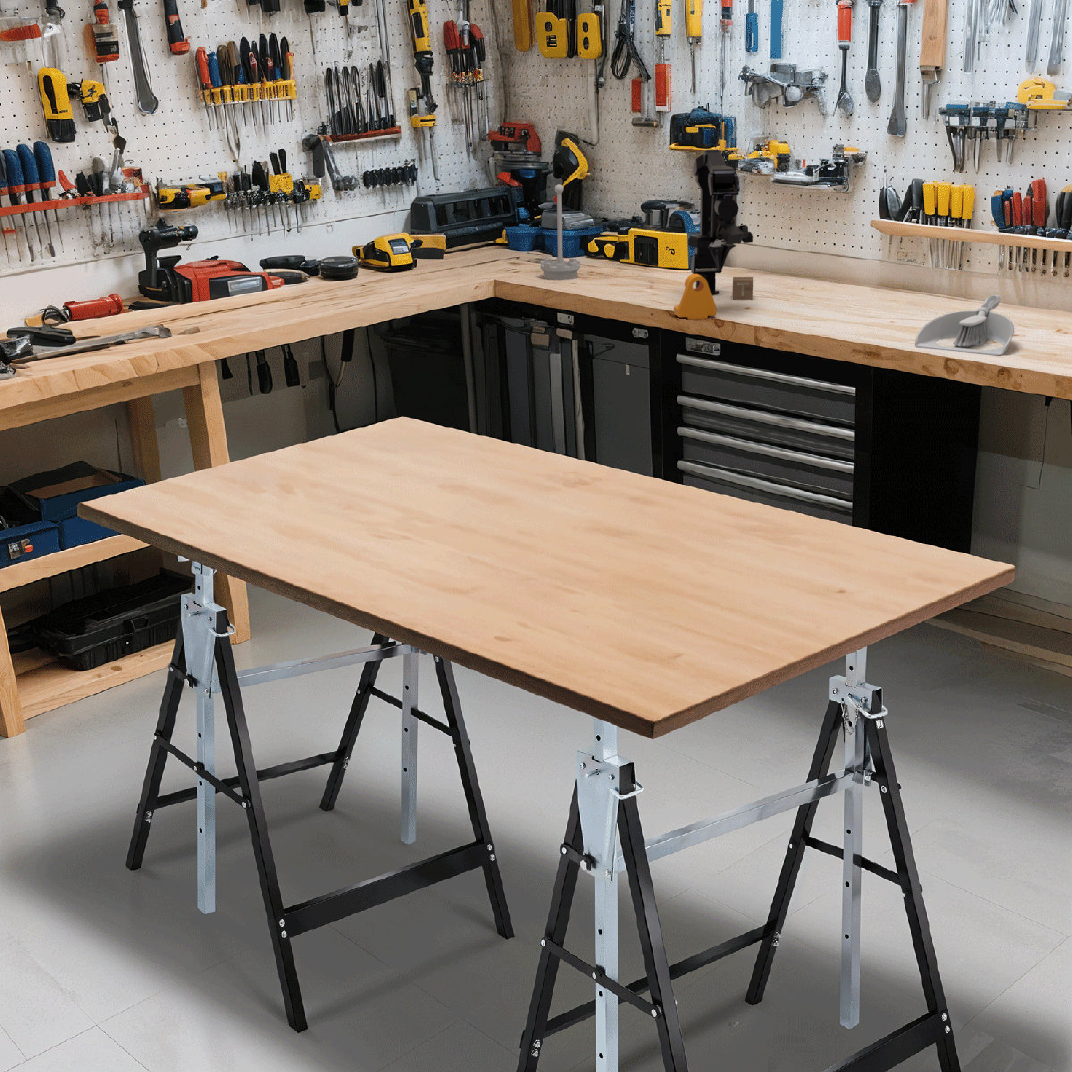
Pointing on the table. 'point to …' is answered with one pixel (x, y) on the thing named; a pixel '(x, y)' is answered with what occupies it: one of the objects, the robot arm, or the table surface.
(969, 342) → the dustpan and brush
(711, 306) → the bracket
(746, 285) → the letter block
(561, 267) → the flag stand
